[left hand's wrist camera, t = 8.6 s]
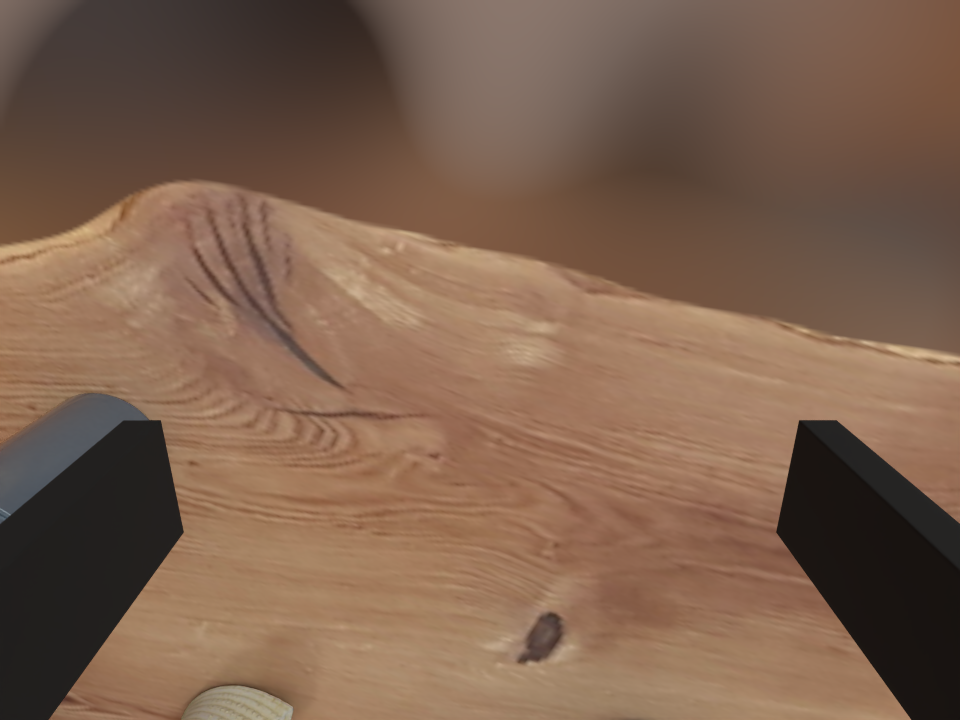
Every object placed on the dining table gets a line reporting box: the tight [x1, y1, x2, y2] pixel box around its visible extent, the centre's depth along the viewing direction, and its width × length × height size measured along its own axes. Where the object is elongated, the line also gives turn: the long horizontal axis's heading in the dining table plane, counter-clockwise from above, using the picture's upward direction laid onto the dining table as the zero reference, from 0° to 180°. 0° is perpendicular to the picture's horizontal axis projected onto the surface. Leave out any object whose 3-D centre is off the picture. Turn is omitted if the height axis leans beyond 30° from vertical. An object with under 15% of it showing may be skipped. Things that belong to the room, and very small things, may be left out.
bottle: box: [0, 393, 149, 524], centre depth 36 cm, size 8×8×17 cm
